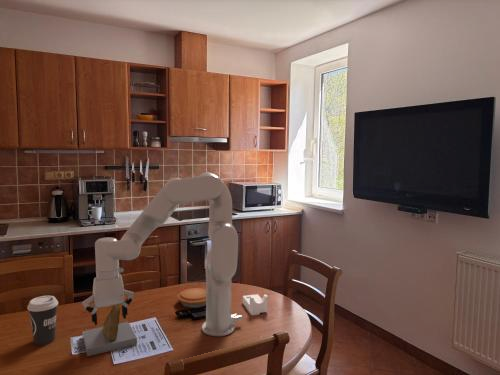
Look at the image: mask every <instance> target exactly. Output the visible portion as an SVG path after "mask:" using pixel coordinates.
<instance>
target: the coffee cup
mask: <svg viewBox="0 0 500 375" xmlns="http://www.w3.org/2000/svg"><path fill="white" fill-rule="evenodd" d="M58 305H59V301H58V299H57V298H56V297H55V296H54V295H41V296H36V297H34V298H32V299H31V300H30V301H29V303H28V304H27V311H28V312H29V318H30V324H31V331H32V336H33V337H32V338H33V344H34V345H35V346H46V345H49V344H51V343H53V342H55V339H56V326H57V325H56V324H57V310H58V308H57V307H58Z"/></svg>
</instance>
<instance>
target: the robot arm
mask: <svg viewBox="0 0 500 375" xmlns="http://www.w3.org/2000/svg"><path fill="white" fill-rule="evenodd" d="M203 201H208V206H209V209H208V210H209V211H208V214H209V215H208V216H209V217H208V229H207V237H208V239H209V240H210V242H211V243H210V245H211V246H210V249H209V250H208V251H207V253H206V255H205V259H204V266H205V289H206V305H205V321H204V322H203V324H202V325H201V331H202V333H204V334H206V335H208V336H210V337H211V336H212V337H224V336H228V335H230V334H232V333H233V332H234V331H235V329H236V325H235V323H236V322H240V321H242V320H243V318H244V317H243V315H242V314H241V315H237V313H234V314H232V279H233V277H234V276H235V274H236V273H237V268H238V257H239V256H238V255H239V235H238V232H237V230H236V228H235V226H234V225H233V198H232V194H231V191H230V190H229V187H228V186H227V185H226V183H225V182H224V180H222V179H221V178H220V177H219V176H218V175H216V174H214V173H212V172H210V171H209V172H208V171H207V172H202V173H201V174H199V175H198V176H193V177H186V178H180V177H172V178H170V179H168V180H167V181H166V182H165V183H164V185H162V187H161V188H160V189H159V191H158V192H157V194H156V195H154V197H153V198H152V200H151V201H150V202H149V203H148V205H146V207H145V208H144V210H143V211H141V213H140V215H139V216H138V217H137V218H136V219H135V221H134V222H132V224H131V225H130V226H129V227H128V229H127V230H126V232H124V234H123V235H122V236H121V238H120V239H119V240H118V239H117V238H115V237H108V236H107V237H101V238H98V239H97V240H96V241H95V242H94V250H95V251H94V254H95V273H96V274H95V275H96V277H94V278H93V285H92V295H90V296H89V297H87V298H86V299H84V300H83V301H81V302H82V303H81V304H82V306H83V307H84V309H85V311H87V312H88V313H90V314H91V322H92V323H94V325H95V326H97V325H98V316H97V315H98V314H97V311H98V310H99V309H100V308H105V307H113V306H114V305H117V304H118V305H120V304H121V316H122V318H123V319H126V318H127V316H128V307H129V305H130V304H131V303H132V302H133V299H134V297H135V293H134V291H130V290H127V289H125V288H124V281H123V276H122V274H121V273H123V272H124V270H125V269H124V267H120V260H121V261H131V260H132V261H133V260H135V259H137V258H139V255H140V254H141V248H142V245H143V244H144V243H145V241H146V240H147V238H148V237H149V236H150V235H151V234H152V233H153V232H154V230H156V229H157V228H159V227H161V226H162V225H164V224H165V223H166V222H167V221H168V220H169V218H170V217H171V215H172V214H173V213H174V212H175V210H176V209H178V207H179V205H185V204H190V203H191V204H193V203H197V202H203ZM125 295H126V296H128V297H127V299H126V300H125V297H126V296H125ZM91 302H92V303H93V305H92V307H91V306H90V305H89V304H90V303H91Z"/></svg>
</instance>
